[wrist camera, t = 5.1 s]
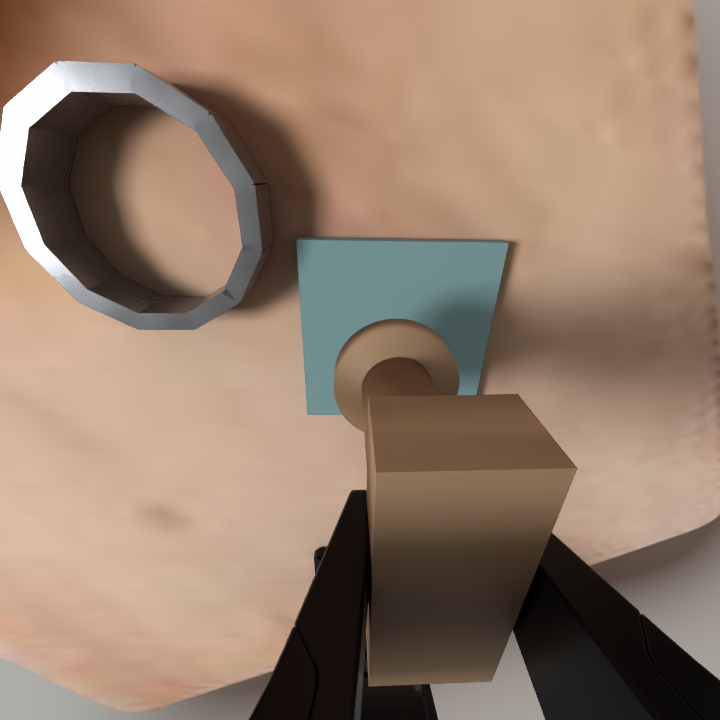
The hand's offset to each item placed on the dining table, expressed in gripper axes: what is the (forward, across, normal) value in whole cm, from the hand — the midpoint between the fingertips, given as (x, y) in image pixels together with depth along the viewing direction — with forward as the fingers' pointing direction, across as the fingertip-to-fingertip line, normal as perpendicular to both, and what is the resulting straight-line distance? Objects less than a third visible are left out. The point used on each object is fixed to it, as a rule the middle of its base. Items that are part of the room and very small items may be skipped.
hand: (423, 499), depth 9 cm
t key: (+6, 0, 0) cm, 6 cm away
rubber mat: (+11, -1, 0) cm, 11 cm away
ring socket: (+11, +10, -6) cm, 16 cm away
